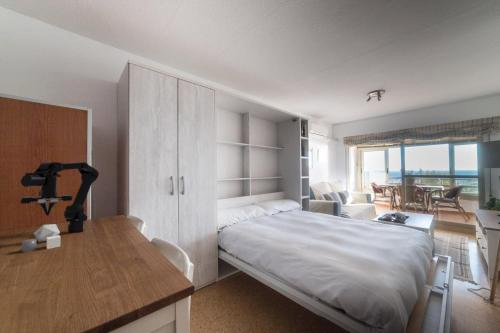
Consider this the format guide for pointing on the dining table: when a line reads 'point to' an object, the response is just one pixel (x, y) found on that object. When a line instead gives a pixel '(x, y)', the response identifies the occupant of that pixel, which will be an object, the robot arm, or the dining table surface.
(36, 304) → the dining table surface
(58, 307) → the dining table surface
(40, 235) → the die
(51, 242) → the cream block
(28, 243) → the grey rounded piece
